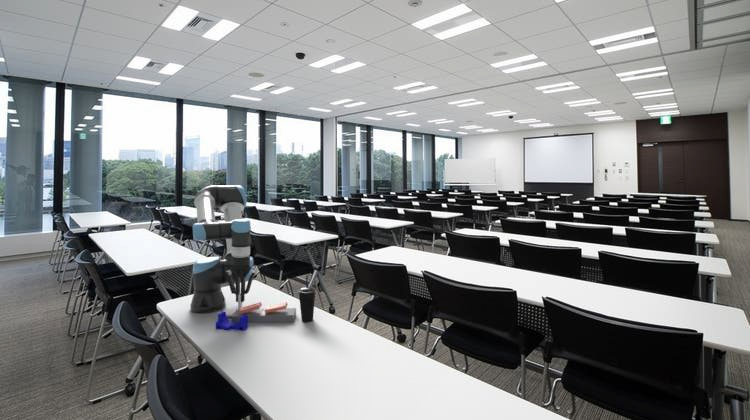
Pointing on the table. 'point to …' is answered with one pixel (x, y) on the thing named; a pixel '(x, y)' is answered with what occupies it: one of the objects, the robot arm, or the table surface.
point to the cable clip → (226, 324)
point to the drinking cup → (307, 302)
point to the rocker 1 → (250, 308)
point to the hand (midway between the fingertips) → (240, 308)
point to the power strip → (266, 316)
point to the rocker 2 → (276, 307)
